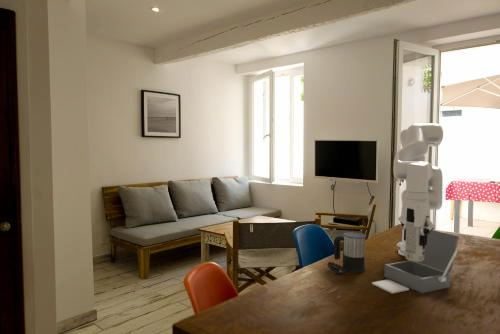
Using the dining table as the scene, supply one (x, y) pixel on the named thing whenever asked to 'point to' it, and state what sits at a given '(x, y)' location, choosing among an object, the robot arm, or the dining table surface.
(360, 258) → the milk frother
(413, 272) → the case
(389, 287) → the pad
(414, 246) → the spray can
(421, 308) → the dining table surface
